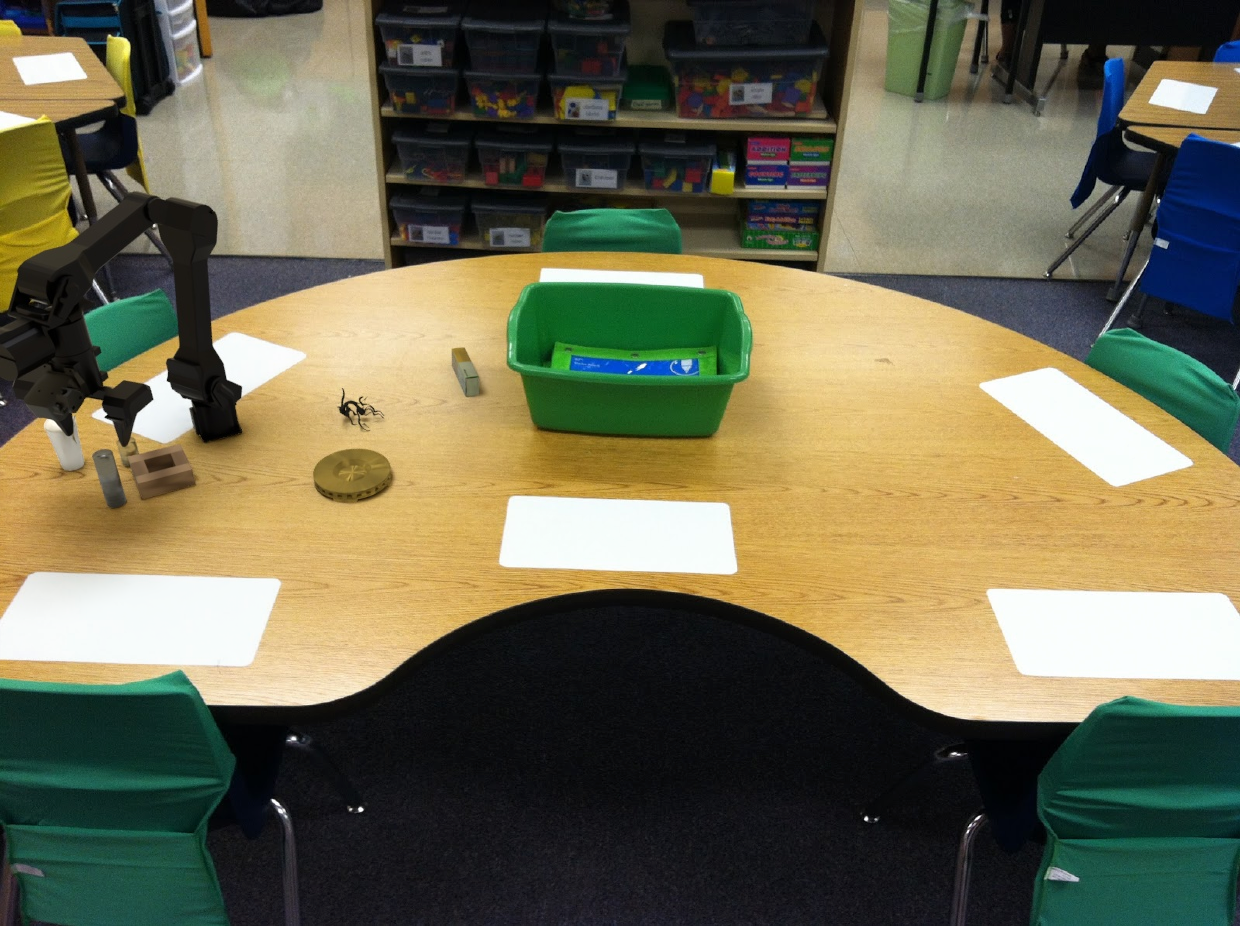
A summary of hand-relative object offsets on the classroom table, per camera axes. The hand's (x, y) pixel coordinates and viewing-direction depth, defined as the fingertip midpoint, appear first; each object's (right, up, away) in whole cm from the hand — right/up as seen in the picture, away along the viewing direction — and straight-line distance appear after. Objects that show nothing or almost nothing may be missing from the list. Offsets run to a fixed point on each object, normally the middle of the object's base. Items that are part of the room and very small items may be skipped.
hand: (97, 440), depth 153 cm
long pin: (0, -9, +7) cm, 11 cm away
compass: (+34, -6, +14) cm, 37 cm away
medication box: (+48, +12, +41) cm, 64 cm away
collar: (+4, -6, +12) cm, 14 cm away
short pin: (-2, -3, +15) cm, 16 cm away
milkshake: (-10, -4, +14) cm, 18 cm away
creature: (+32, +4, +28) cm, 43 cm away
